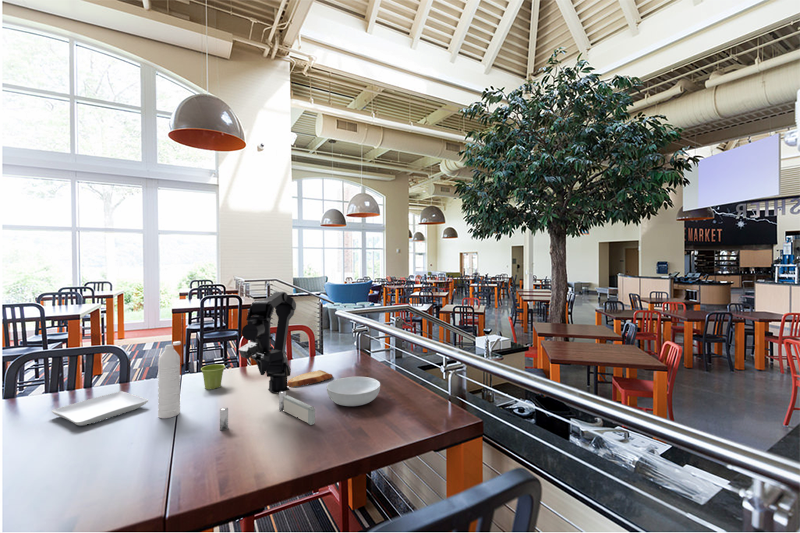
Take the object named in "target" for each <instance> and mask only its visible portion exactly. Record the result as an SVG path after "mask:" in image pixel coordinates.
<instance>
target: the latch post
mask: <svg viewBox="0 0 800 533" xmlns="http://www.w3.org/2000/svg"><path fill="white" fill-rule="evenodd" d="M228 429H229V408H228V407H226V406H225V407H222V408H219V431H226V430H228Z"/></svg>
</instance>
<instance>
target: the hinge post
mask: <svg viewBox="0 0 800 533" xmlns="http://www.w3.org/2000/svg"><path fill="white" fill-rule="evenodd" d="M286 395H287V390H286V391H281V392H279V393H278V411H279V410H280V411H279V412H284V411H283V410H284V399H283V396H286Z"/></svg>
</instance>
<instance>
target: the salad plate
mask: <svg viewBox="0 0 800 533" xmlns="http://www.w3.org/2000/svg"><path fill="white" fill-rule="evenodd" d="M147 403H149V399H148V398H145V397H141V396H139V395H135V394H132V393H129V392H126V391H123V390H120V391H116V392H112V393H109V394H105V395H101V396H96V397H93V398H89V399H85V400H82V401H78V402H75V403H71V404H68V405H65V406H61V407H58V408H54V409H52V410H51V413H52V414H54V415H55V416H58V417H60V418H63V419H65V420H67V421H70V422H72V423H73V424H74V425H76V426H79V427H80V426H81V427H82V426H88V425H87V424H89V425H92V424H91V423H93V424H95V423H94V422H96V423H98V421H99V422H101V421H100V420H102V421H105V420H107V419H106V418H109V419H111V418H110V417H112V418H114V417H113V416H115V417H117V416H116V415H118V416H120V415H119V414H121V415H123V414H122V413H124V414H126V412H127V413H130V412H133V411H134V410H136V409H139V408H141V407H143V406H144V405H146V404H147ZM104 419H105V420H104Z"/></svg>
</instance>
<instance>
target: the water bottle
mask: <svg viewBox="0 0 800 533" xmlns="http://www.w3.org/2000/svg"><path fill="white" fill-rule="evenodd" d="M181 343H182V342H181V341H180V340H178V341H173V342H172V344H166V345H165V346H164V350H163V352H161V354H160V356H159V357H158V359H157V363H158V374H157V375H158V380H157V384H158V389H157V392H158V394H157V397H158V399H157V400H158V401H157V402H158V403H157V409H158V411H157V412H158V413H157V416H158V418H159V419H170V418H173V417H177V416H178V415H179V414H180V413H181V406H180V405H181V395H180V394H181V366H180V365H181V364H180V363H181V356H180V354H179V353H178V352H177V351H176V349H175V348H174V346H175V345H176V346H180V345H181Z"/></svg>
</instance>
